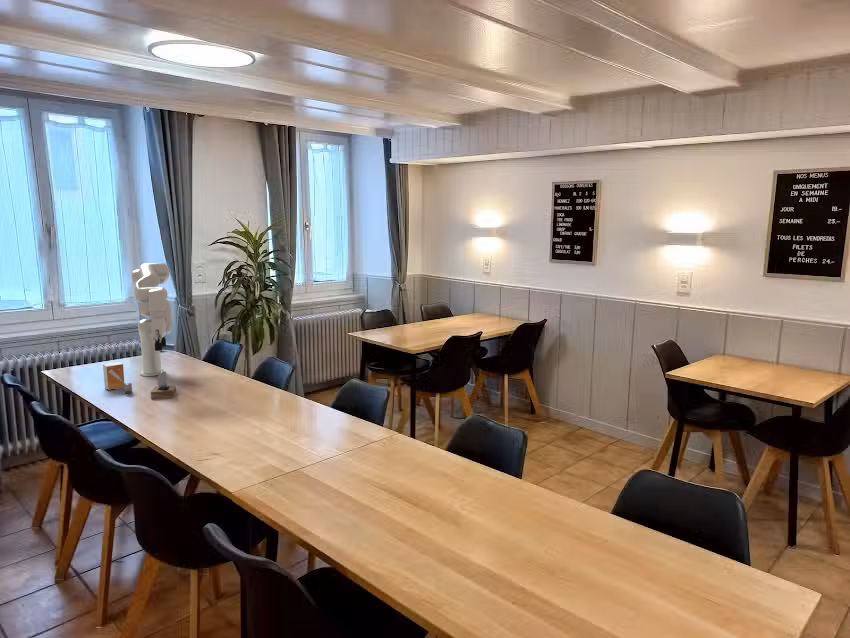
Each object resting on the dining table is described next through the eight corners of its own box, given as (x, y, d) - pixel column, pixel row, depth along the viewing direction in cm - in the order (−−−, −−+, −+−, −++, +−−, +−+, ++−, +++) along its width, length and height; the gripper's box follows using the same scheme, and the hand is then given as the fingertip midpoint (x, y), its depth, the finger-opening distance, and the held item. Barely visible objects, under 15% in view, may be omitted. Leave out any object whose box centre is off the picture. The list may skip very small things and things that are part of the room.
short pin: (125, 392, 295) (124, 383, 294) (133, 392, 296) (132, 382, 295) (123, 394, 292) (122, 385, 291) (131, 394, 292) (130, 384, 292)
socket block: (155, 392, 295) (154, 386, 294) (176, 391, 297) (175, 385, 297) (151, 399, 285) (150, 392, 285) (172, 397, 288) (172, 390, 287)
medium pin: (159, 390, 299) (158, 375, 297) (166, 390, 300) (166, 375, 298) (158, 392, 295) (157, 377, 294) (165, 392, 296) (164, 377, 295)
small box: (108, 391, 297) (106, 366, 295) (104, 388, 302) (102, 364, 299) (125, 388, 303) (123, 363, 300) (121, 385, 307) (119, 361, 305)
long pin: (160, 394, 293) (159, 371, 290) (168, 394, 293) (166, 371, 291) (159, 396, 289) (157, 373, 287) (167, 396, 290) (165, 373, 288)
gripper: (153, 311, 291) (156, 344, 294) (146, 317, 275) (148, 352, 278) (169, 311, 293) (172, 344, 296) (163, 317, 277) (165, 352, 280)
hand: (160, 348), depth 287 cm, fingers open, 9 cm apart
